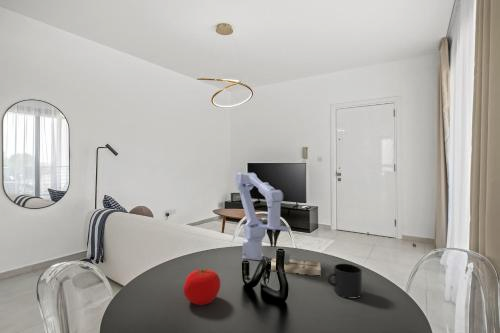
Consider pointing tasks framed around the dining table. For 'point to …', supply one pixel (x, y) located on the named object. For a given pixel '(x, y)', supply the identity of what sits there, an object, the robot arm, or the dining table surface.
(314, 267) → the board
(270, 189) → the robot arm
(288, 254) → the fader tab
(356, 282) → the mug
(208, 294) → the tomato
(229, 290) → the dining table surface
